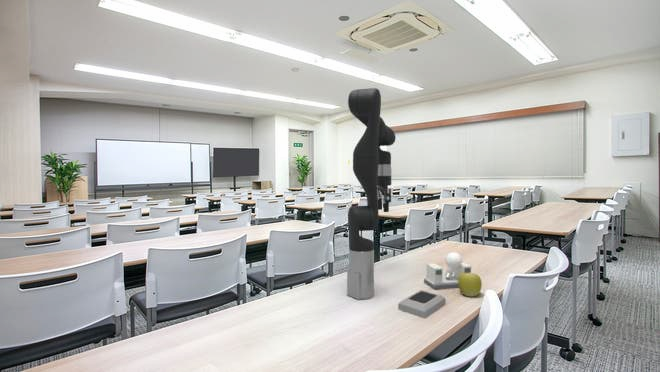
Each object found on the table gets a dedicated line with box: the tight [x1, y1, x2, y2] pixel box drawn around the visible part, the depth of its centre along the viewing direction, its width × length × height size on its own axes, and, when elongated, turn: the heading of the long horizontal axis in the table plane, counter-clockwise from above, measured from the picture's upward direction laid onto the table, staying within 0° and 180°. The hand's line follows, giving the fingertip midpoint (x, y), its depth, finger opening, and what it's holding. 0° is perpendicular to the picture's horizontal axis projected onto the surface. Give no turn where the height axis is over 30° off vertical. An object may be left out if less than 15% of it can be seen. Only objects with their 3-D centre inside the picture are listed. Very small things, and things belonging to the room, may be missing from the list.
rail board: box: [423, 275, 460, 291], centre depth 130 cm, size 17×8×2 cm, turn 101°
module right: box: [453, 261, 472, 278], centre depth 131 cm, size 4×7×6 cm, turn 11°
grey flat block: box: [397, 289, 446, 319], centre depth 109 cm, size 10×4×15 cm
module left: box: [425, 263, 444, 284], centre depth 128 cm, size 4×7×6 cm, turn 11°
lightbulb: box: [444, 251, 463, 279], centre depth 130 cm, size 6×6×11 cm
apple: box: [458, 272, 483, 298], centre depth 119 cm, size 8×8×10 cm
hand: (382, 210), depth 144 cm, fingers open, 8 cm apart
